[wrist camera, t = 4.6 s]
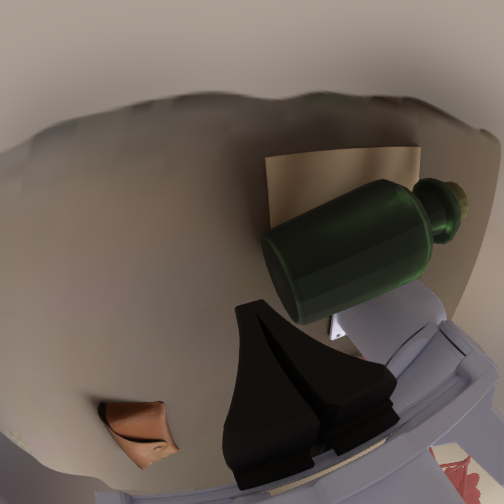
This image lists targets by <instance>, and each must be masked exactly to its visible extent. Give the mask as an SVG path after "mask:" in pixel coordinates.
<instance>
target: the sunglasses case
mask: <svg viewBox="0 0 504 504" xmlns="http://www.w3.org/2000/svg"><path fill="white" fill-rule="evenodd" d="M98 415H99V417H100V419H101V421H102V422H103V423H104V425H105V426H106V428H107V430H108V431H109V433H110V434H111V436H112V437H113V438H114V440H115V441H116V442H117V444H118V445H119V446H120V447H121V448H122V450H123V451H124V452H125V453H126V454H127V456H128V457H129V458H130V459H131V460H132V461H133V462H134V463H135V464H136V465H137V466H138V467H139V468H140V469H142V470H144V469H145V468H146V467H148V466H149V465H150V464H151V463H154V462H156V461H158V460H160V459H163V458H165V457H167V456H169V455H171V454H173V453H175V452H177V451H179V448H178V447H177V446H176V444H175V442H174V440H173V438H172V435H171V432H170V430H169V426H168V422H167V419H166V411H165V404H164V403H163V402H160V401H156V402H145V403H103V402H101V403H100V404H99V405H98Z"/></svg>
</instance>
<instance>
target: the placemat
mask: <svg viewBox="0 0 504 504" xmlns="http://www.w3.org/2000/svg"><path fill="white" fill-rule="evenodd" d="M420 150H421V147H370V148H351V149H337V150H325V151H314V152H304V153H295V154H287V155H279V156H271V157H265V166H266V177H267V188H268V200H269V212H270V224H271V228H273V227H275V226H278V225H280V224H282V223H284V222H286V221H288V220H290V219H292V218H294V217H296V216H299V215H301V214H303V213H305V212H307V211H309V210H311V209H313V208H315V207H318V206H320V205H322V204H324V203H326V202H328V201H330V200H332V199H335V198H337V197H339V196H341V195H343V194H345V193H347V192H350V191H352V190H354V189H356V188H358V187H360V186H362V185H365V184H367V183H369V182H371V181H375V180H379V179H386V180H389V181H392V182H395V183H397V184H400V185H402V186H404V187H407V188H408V189H409V190H410V191H411V192H412V189H413V186H414V185H415V184H416V183H417V182H418V180H419V168H420Z"/></svg>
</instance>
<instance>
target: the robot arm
mask: <svg viewBox="0 0 504 504" xmlns="http://www.w3.org/2000/svg"><path fill="white" fill-rule="evenodd" d="M235 313H236V318H237V323H238V328H239V337H240V347H239V364H238V372H237V378H236V384H235V389H234V393H233V397H232V401H231V405H230V409H229V412H228V415H227V418H226V421H225V424H224V431H223V441H222V450H223V455H224V458H225V461H226V464H227V466H228V467H229V468H230V469H231V470H232V472H233V474H234V477H235V480H236V482H235V483H231V484H227V485H222V486H217V487H212V488H206V489H200V490H194V491H187V492H178V493H169V494H156V495H135V496H134V495H129V494H127V493H124V492H118V491H97V490H96V491H95V500H96V504H466V503H465V502H464V500H463V499H462V497H461V496H460V494H459V493H458V491H457V490H456V488H455V487H454V486H453V484H452V483H451V481H450V480H449V478H448V477H447V476H446V474H445V473H444V471H443V470H442V468H441V467H440V466H439V464H438V463H437V461H436V460H435V459H434V457H433V456H432V454H431V453H430V452H429V450H428V448H429V447H434V446H440V445H445V444H449V443H457V444H458V445H459V446H460V447H461V448H462V449H463V450H464V451H465V452H466V453H467V454H469V455H470V456H471V457H472V458H473V459H474V460H475V461H476V462H477V463H478V464H479V465H480V466H481V467H482V468H483V469H484V470H485V471H486V472H487V473H488V474H490V476H492V477H493V478H494V479H495V480H496V481H497V482H498V483H499V484H500V485H501V486H502V487H503V488H504V414H503V413H502V412H501V411H500V410H498V408H497V407H496V406H495V405H494V404H493V403H492V401H493V397H494V393H495V388H496V384H497V380H498V379H499V378H500V376H499V375H498V372H497V370H496V365H495V363H494V362H493V361H492V360H491V358H490V357H489V356H488V355H487V353H486V352H485V351H484V350H483V349H482V348H481V347H480V346H479V345H478V344H477V343H476V342H475V341H474V340H473V339H472V338H471V337H470V336H469V335H468V334H467V333H466V332H465V331H464V330H463V329H461V328H460V327H459V326H458V325H457V324H455V323H454V322H453V321H452V320H446V312H445V309H444V306H443V304H442V302H441V301H440V299H439V298H438V297H437V296H436V295H435V294H434V293H433V292H432V291H431V290H429V289H428V288H427V287H426V286H424V285H423V284H422V283H421V282H420V281H418V280H417V279H415V280H413V281H411V282H409V283H407V284H405V285H402V286H400V287H398V288H396V289H394V290H391V291H389V292H387V293H385V294H382V295H380V296H378V297H375V298H373V299H371V300H368V301H366V302H364V303H361V304H359V305H356V306H354V307H351V308H349V309H346V310H344V311H341V312H339V313H336V314H333V315H332V319H331V327H330V335H329V338H330V339H331V340H334V339H337V338H339V337H342V336H344V335H347V336H348V337H349V339H350V340H351V341H352V342H353V344H354V345H355V346H356V348H357V349H358V350H359V351H360V353H361V354H362V355H363V356H364V358H365V359H366V360H367V361H366V360H363V359H359V358H356V357H353V356H350V355H347V354H345V353H342V352H340V351H337V350H335V349H333V348H330V347H328V346H326V345H324V344H322V343H321V342H319V341H317V340H315V339H313V338H312V337H310V336H308V335H307V334H305V333H304V332H302V331H301V330H299V329H298V328H296V327H295V326H294V325H292V324H291V323H290V322H288V321H287V320H286V319H284V318H283V317H282V316H281V315H279V314H278V313H277V312H276V311H275V310H274V309H273V308H271V307H270V306H269V305H268V304H267V303H266V302H265V301H264V300H262V299H260V300H257V301H253V302H250V303H246V304H243V305H239V306H236V308H235ZM391 434H392V435H391ZM388 436H389V437H388ZM387 437H388V438H387ZM385 438H387V439H386V441H385V442H384V444H382V445H380V446H379V447H377V448H375V449H374V450H372V451H370V452H368V453H367V454H365V455H363V456H361V457H359V458H358V459H355V460H353V461H351V462H349V463H348V464H345V465H343V466H342V467H339V468H337V469H336V470H333V471H331V472H329V473H327V474H325V475H323V476H321V477H318V478H316V479H314V480H312V481H309V482H307V483H305V484H302V485H300V486H298V487H295V488H293V489H290V490H288V491H285V492H282V493H280V494H277V495H274V496H271V495H270V493H268V492H265V491H269V490H272V489H275V488H278V487H281V486H284V485H287V484H290V483H293V482H296V481H299V480H301V479H304V478H306V477H309V476H311V475H314V474H316V473H318V472H321V471H323V470H326V469H328V468H330V467H332V466H335V465H337V464H339V463H341V462H343V461H345V460H347V459H349V458H351V457H353V456H355V455H357V454H359V453H360V452H362V451H364V450H366V449H368V448H370V447H371V446H373V445H375V444H377V443H378V442H380V441H382V440H383V439H385ZM262 492H265V493H262ZM258 493H260V494H258Z"/></svg>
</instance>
